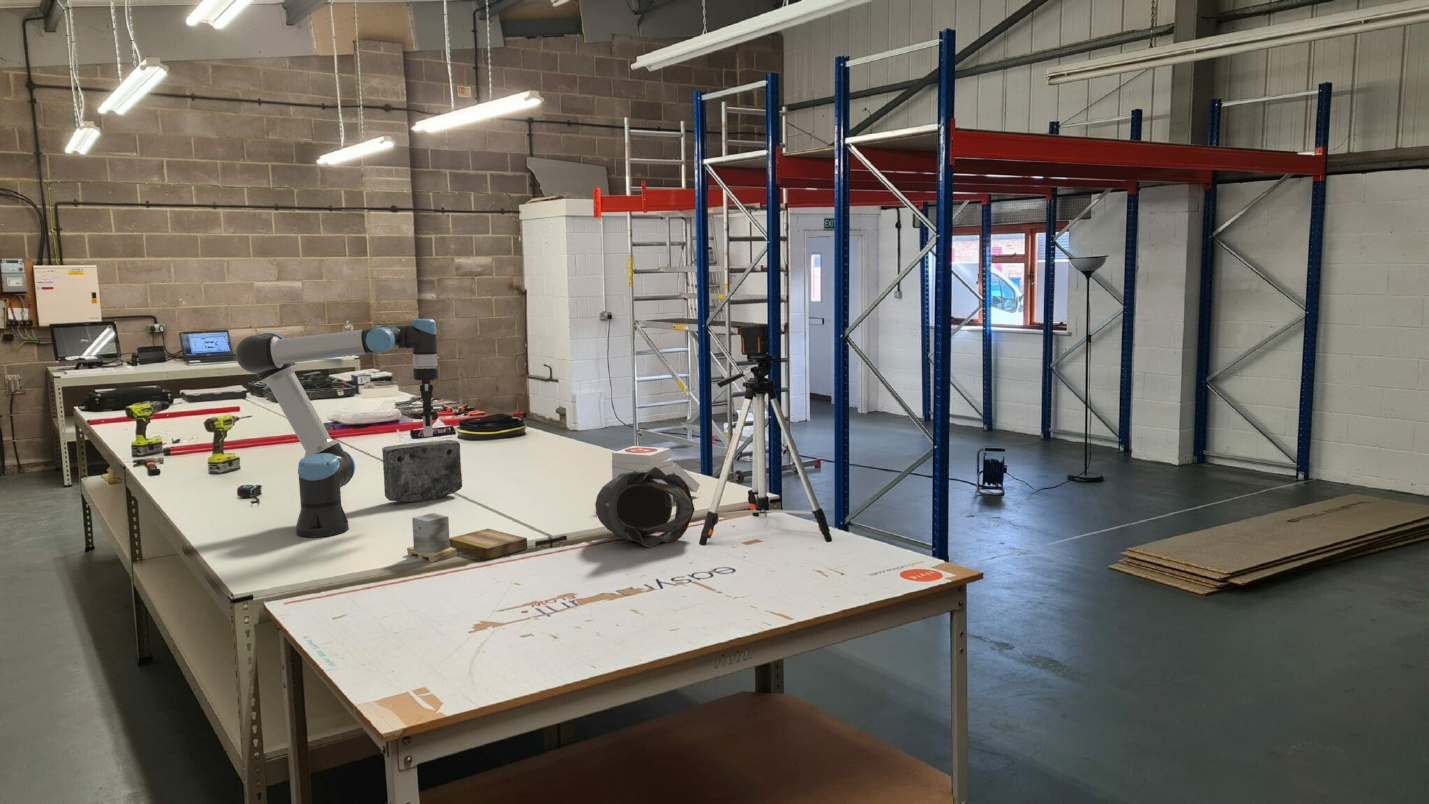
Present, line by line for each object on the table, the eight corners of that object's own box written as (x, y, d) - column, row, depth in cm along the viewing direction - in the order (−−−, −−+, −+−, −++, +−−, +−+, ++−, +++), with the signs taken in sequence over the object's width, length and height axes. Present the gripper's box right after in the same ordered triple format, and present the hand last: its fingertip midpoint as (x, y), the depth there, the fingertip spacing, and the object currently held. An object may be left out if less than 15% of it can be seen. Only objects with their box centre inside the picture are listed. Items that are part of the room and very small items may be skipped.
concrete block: (455, 492, 358) (452, 438, 355) (464, 497, 350) (461, 441, 348) (381, 502, 342) (378, 446, 340) (388, 507, 335) (385, 449, 333)
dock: (487, 559, 271) (487, 548, 271) (448, 548, 283) (448, 538, 282) (527, 548, 282) (527, 537, 282) (488, 538, 293) (487, 528, 293)
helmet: (708, 470, 289) (665, 470, 310) (614, 462, 272) (574, 463, 293) (704, 550, 287) (660, 545, 307) (608, 547, 269) (569, 542, 290)
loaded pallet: (432, 562, 269) (430, 523, 268) (407, 554, 277) (405, 516, 275) (456, 555, 275) (455, 517, 274) (431, 548, 283) (429, 511, 282)
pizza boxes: (704, 496, 348) (703, 446, 345) (639, 510, 327) (638, 457, 324) (667, 488, 361) (667, 440, 359) (603, 502, 340) (602, 450, 338)
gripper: (438, 370, 303) (440, 438, 305) (437, 363, 326) (439, 426, 329) (413, 371, 301) (415, 439, 303) (413, 364, 324) (415, 427, 327)
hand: (427, 433), depth 316 cm, fingers open, 13 cm apart
